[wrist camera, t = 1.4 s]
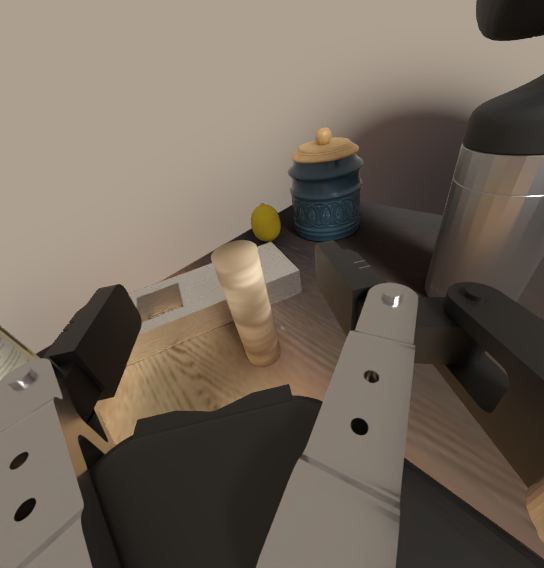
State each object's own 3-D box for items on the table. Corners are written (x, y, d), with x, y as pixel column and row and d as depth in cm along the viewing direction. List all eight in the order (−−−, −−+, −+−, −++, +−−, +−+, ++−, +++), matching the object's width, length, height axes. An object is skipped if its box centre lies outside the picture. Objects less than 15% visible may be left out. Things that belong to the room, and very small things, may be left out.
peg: (272, 334, 32) (248, 235, 24) (286, 357, 29) (264, 254, 21) (243, 347, 31) (206, 250, 23) (254, 372, 28) (216, 271, 20)
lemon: (263, 253, 48) (254, 213, 43) (251, 242, 52) (242, 204, 47) (288, 242, 50) (282, 202, 45) (275, 232, 54) (268, 195, 49)
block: (274, 261, 45) (270, 241, 43) (301, 292, 37) (299, 270, 35) (123, 319, 39) (108, 300, 37) (119, 369, 32) (100, 349, 29)
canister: (283, 227, 55) (269, 135, 44) (331, 208, 59) (329, 118, 48) (319, 251, 45) (313, 140, 35) (374, 226, 49) (384, 119, 38)
